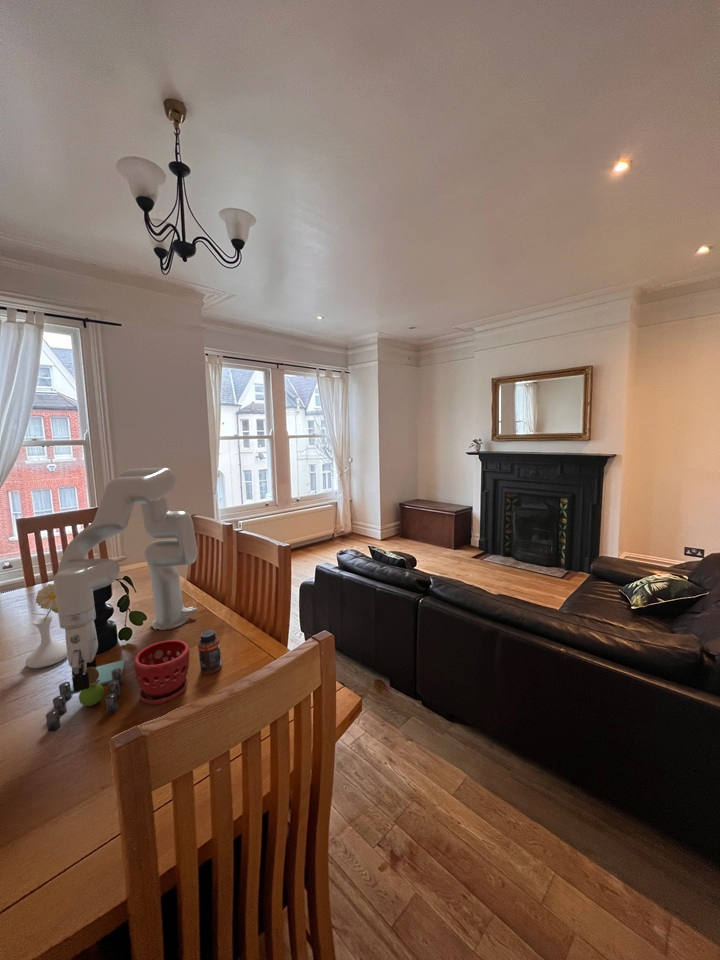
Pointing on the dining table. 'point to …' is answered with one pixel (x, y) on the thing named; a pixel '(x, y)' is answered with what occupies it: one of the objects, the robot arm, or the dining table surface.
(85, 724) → the dining table surface
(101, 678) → the teal mat
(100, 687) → the snail figurine
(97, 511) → the robot arm
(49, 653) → the flower in vase
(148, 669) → the plant pot
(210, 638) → the supplement bottle
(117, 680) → the spacer posts
